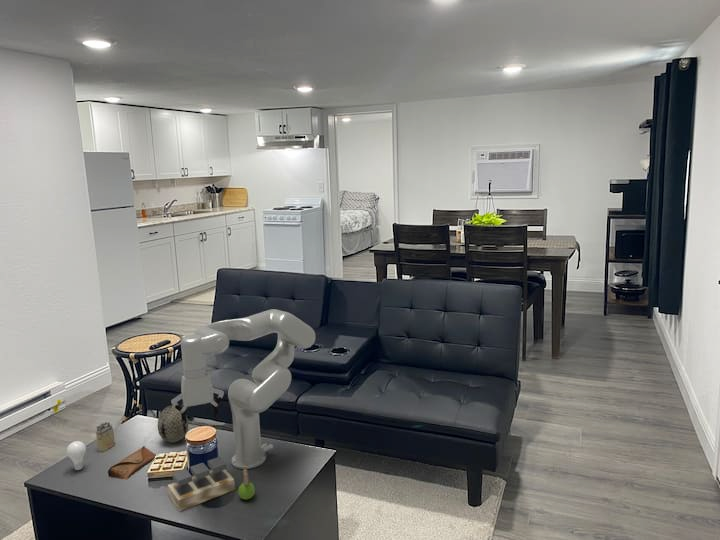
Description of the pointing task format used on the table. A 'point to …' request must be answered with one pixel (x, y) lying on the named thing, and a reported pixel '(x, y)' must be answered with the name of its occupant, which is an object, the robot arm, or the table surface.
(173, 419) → the decorative egg
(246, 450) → the robot arm
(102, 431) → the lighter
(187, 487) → the switch panel
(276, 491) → the table surface
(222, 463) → the switch
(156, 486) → the table surface
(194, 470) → the switch middle
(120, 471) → the sunglasses case
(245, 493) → the green maraca
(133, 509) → the table surface
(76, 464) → the lightbulb
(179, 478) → the switch
